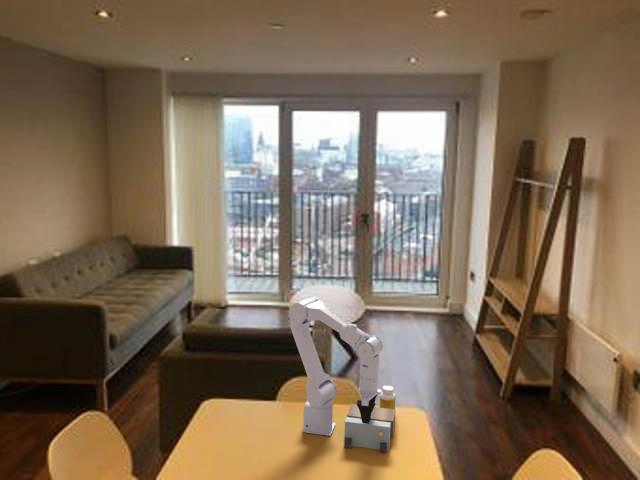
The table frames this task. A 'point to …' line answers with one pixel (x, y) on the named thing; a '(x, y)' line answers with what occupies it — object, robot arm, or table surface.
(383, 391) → the supplement bottle
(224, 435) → the table surface
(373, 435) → the door panel
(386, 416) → the cabinet
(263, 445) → the table surface
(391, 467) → the table surface
